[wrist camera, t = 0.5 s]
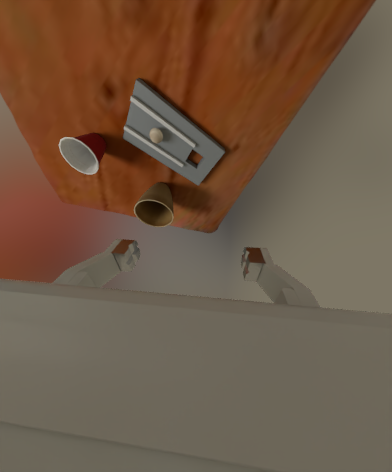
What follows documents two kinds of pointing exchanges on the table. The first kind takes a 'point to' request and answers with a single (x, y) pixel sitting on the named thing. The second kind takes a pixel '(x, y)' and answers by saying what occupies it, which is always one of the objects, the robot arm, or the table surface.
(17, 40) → the table surface
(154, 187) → the plant pot
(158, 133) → the ball
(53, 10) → the table surface
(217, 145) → the hole board
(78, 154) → the plastic cup
